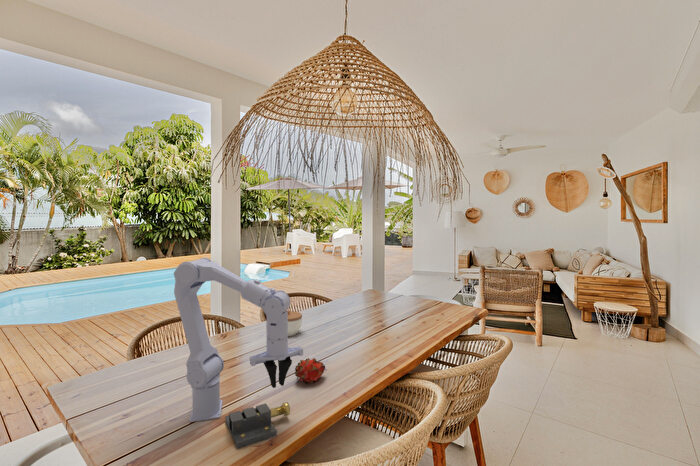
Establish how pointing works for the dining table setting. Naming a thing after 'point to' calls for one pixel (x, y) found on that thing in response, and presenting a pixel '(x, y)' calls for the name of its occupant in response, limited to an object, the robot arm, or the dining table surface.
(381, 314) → the dining table surface
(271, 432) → the hinge leaves
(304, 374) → the dragon fruit
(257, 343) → the dining table surface
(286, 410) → the pin
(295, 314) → the lidded bowl
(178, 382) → the dining table surface
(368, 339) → the dining table surface
